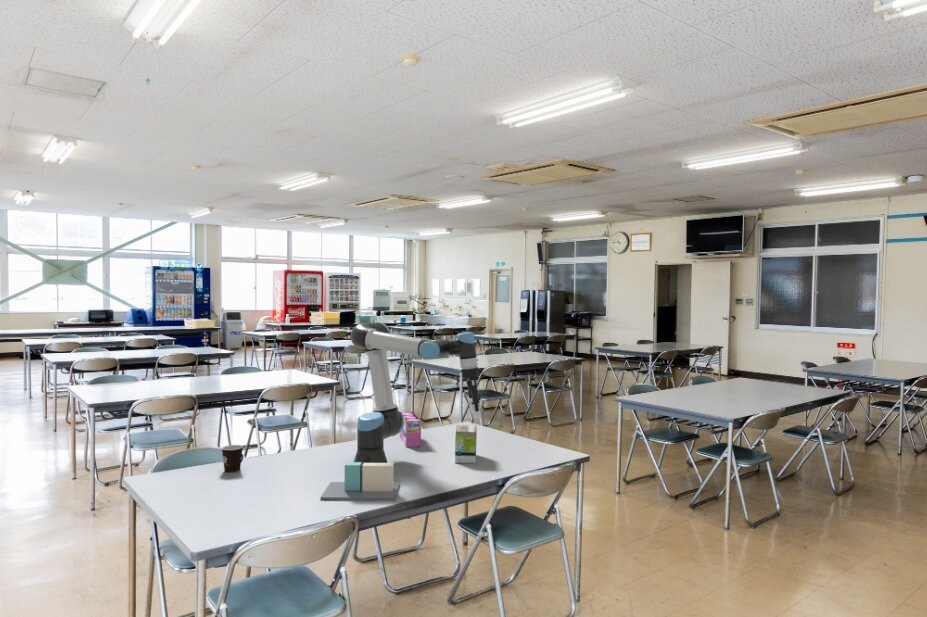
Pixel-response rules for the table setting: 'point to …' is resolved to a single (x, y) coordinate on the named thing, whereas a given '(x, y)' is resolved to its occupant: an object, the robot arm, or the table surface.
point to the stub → (353, 476)
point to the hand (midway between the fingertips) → (475, 415)
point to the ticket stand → (367, 485)
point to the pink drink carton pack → (411, 430)
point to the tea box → (465, 444)
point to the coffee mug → (232, 457)
